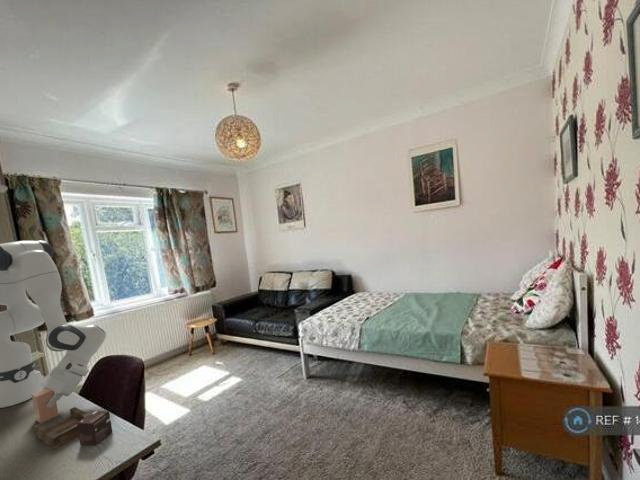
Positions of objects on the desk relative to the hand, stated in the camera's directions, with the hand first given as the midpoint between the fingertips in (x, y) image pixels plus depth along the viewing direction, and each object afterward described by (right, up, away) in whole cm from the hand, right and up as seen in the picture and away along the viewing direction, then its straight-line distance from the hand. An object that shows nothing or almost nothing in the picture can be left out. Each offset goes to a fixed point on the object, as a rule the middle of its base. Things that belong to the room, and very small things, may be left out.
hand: (43, 404), depth 108 cm
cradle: (+17, -4, -9) cm, 20 cm away
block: (+1, -6, +1) cm, 6 cm away
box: (+32, -3, -15) cm, 36 cm away
